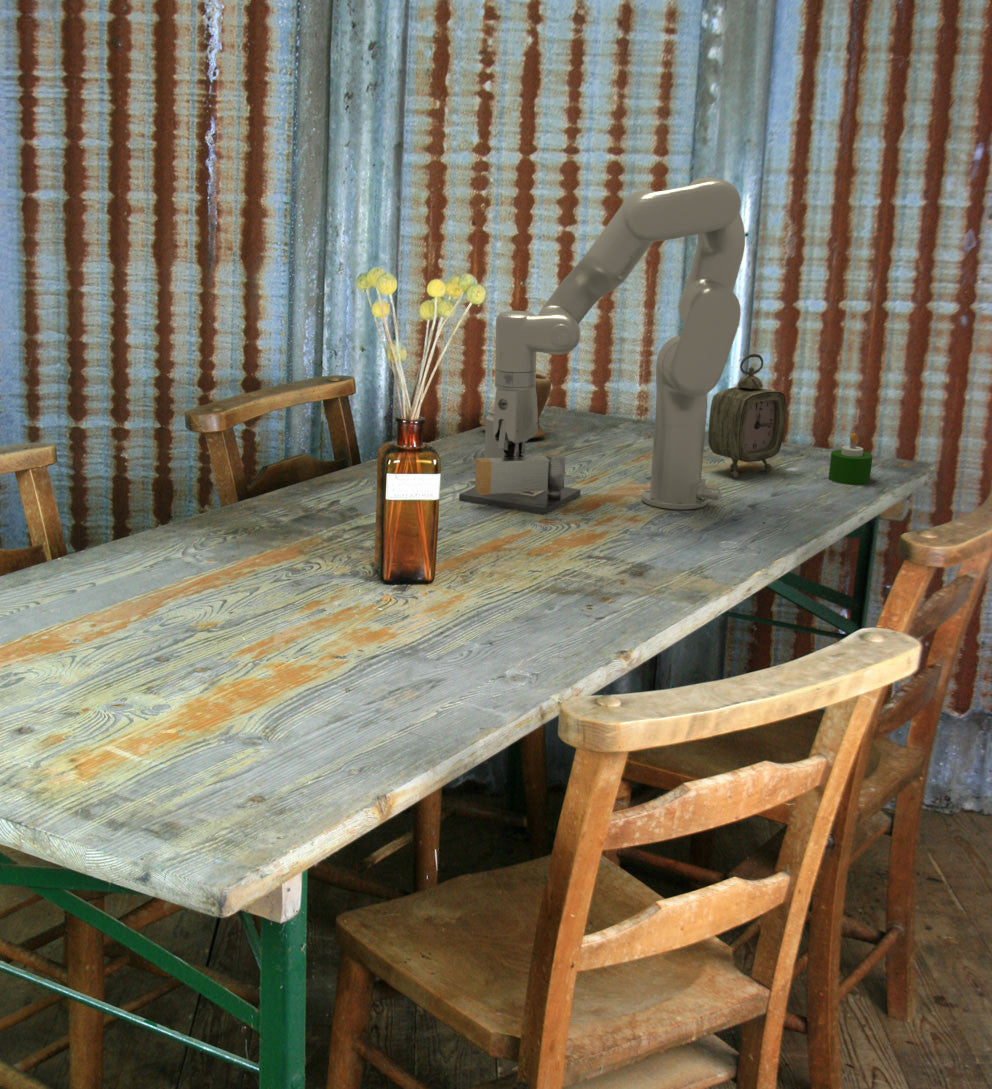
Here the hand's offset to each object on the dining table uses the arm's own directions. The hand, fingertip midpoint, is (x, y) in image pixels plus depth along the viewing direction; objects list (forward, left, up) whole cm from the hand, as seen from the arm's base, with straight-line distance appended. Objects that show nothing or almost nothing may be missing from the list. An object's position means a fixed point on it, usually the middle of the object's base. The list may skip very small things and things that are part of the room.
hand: (513, 475), depth 251 cm
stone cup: (+24, -51, -5) cm, 57 cm away
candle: (-52, -53, -5) cm, 74 cm away
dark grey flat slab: (-1, -2, -5) cm, 5 cm away
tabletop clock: (-31, -46, -5) cm, 56 cm away
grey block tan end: (-3, +3, -2) cm, 4 cm away
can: (+13, -22, -5) cm, 26 cm away
